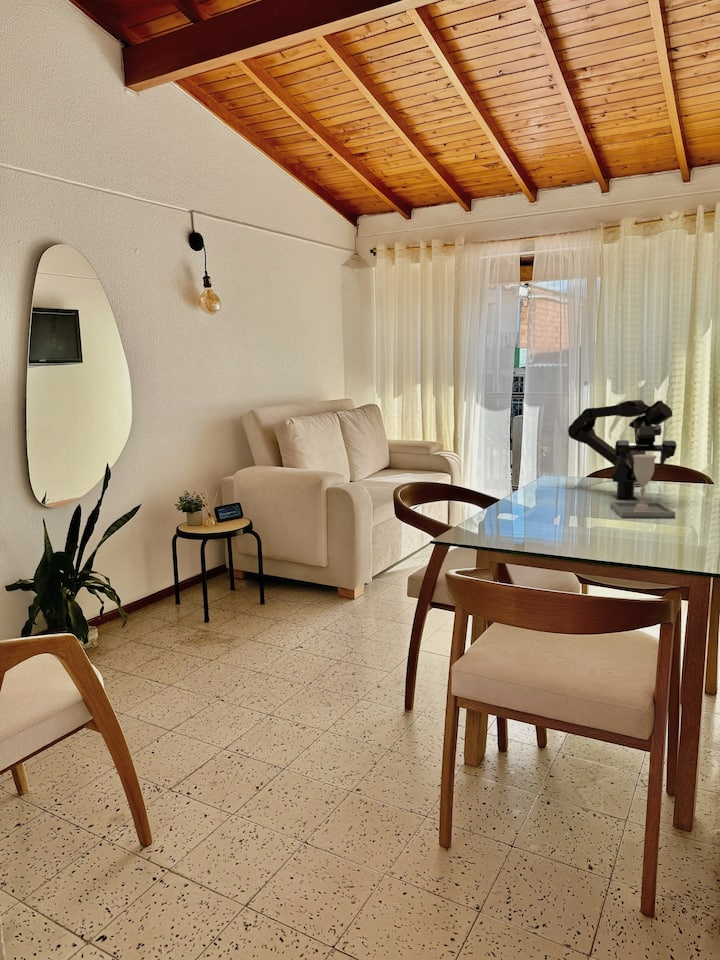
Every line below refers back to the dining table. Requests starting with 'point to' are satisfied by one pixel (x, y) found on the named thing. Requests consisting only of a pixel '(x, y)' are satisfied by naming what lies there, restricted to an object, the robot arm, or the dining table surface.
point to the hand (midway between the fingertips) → (646, 468)
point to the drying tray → (655, 511)
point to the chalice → (643, 476)
